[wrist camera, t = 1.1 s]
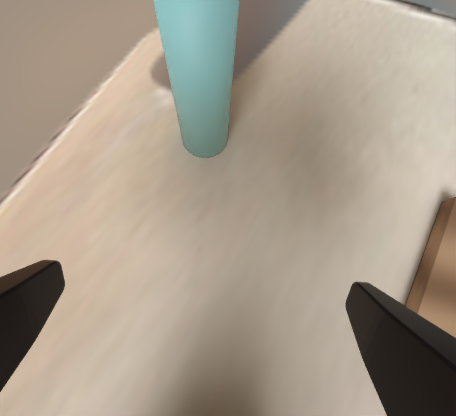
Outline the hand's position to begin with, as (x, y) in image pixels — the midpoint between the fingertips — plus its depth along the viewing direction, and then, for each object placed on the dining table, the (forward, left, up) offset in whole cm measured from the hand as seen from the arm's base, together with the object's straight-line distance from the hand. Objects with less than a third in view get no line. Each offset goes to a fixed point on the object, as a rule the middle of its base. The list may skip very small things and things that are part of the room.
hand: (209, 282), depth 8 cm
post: (+12, +9, -13) cm, 20 cm away
